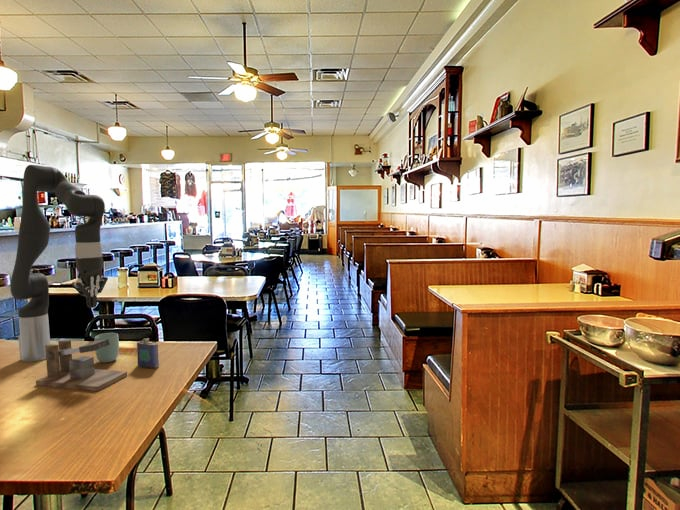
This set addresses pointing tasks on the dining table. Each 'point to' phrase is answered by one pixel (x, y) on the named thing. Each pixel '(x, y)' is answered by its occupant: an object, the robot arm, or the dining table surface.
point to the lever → (85, 347)
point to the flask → (147, 354)
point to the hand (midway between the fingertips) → (91, 307)
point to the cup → (108, 347)
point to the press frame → (75, 371)
